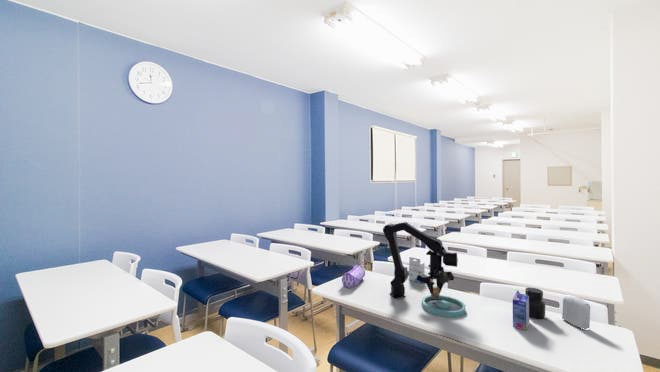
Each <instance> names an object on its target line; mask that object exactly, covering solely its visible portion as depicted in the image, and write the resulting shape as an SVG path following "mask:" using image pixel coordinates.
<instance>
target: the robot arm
mask: <svg viewBox="0 0 660 372" xmlns="http://www.w3.org/2000/svg"><path fill="white" fill-rule="evenodd" d="M401 231H404V232H405V233H408V234H409V235H410V236H412V237H414V238H416V239H417V240H419V241H420V242H422V243H423V244H424V245H425V247H427V248H428V249H429V250H428V251H427V252H426V253H425V254H426V256H429V264H428V265H427V266H428V268H429V271H428V275H426V274H425V273H424V274H421V275H418V276H417V280H418V281H420V282H422V283H421V284H426V286H427V289H428V291H429V293H430V295H431V294H433V286H434V285H435V282H434V280H436V287H439V288H440V290H439V295H441V292H442V290H443V289H442V288H443V286H444V285H445V284H446V283H449V281H455V276H454V274H453V272H452V271H445V270H444V269H445V268H444V266H446V267H447V266H448V267H457V268H458V261H459V259H458V253H457V252H450V251H447V250H446V249H445V247H444V245H443V241H442V240H441V239H439V238H437V237H434V236H431V235H428V234H427V233H424V232H423V231H421V230H420V229H418V228H416V227H414V226H412V225H411V224H410V223H408V222H407V221H403V222H399V223H395V224H393V223H388V224H385V225H384V226H383V228H382V232H383V235H384V236H385V239H386V240H387V241H388V245H389V250H390V253H391V258H392V261H393V266H394V271H393V272H394V274H393V275H394V277H393V278H392V280H391V281H390V292H389V295H390V296H391V297H393V298H395V299H402V298H406V297H407V296H406V295H405V294H406V293H405V292H406V290H405V289H406V287H405V284H404V283H405V282H406V281H407V280H408V279H409V270H408V267H407V266H406V267H405V266H404V265H403V262H402V256H401V253H400V252H401V251H400V250H399V249H400V248H399V245H398V244H399V243H398V241H397V236H398V233H397V232H401ZM443 264H444V266H443Z"/></svg>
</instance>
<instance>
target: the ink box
mask: <svg viewBox="0 0 660 372" xmlns="http://www.w3.org/2000/svg"><path fill="white" fill-rule="evenodd" d="M408 259H409V261H408V262H409V263H408V273H409V275H408V280H409V281H412V282H415V283H418V284H423V283H422V282H420V281H418V280H417V276H418V275H421V274H425V262H421V259H419V258H417V257H416V258H415V257H412V256H409V258H408Z"/></svg>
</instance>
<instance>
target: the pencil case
mask: <svg viewBox="0 0 660 372" xmlns="http://www.w3.org/2000/svg"><path fill="white" fill-rule="evenodd" d="M365 276H366V270H365V268H364V267H363V266H362V265H361V264H360V263H356V265H354V266H353V268H352V269H351V270H349V271H347V272H345V273H344V274H342V277H341V283H342V285H343V287H345V288H348V289H352V288H354V287H355V286H356V285H357V284H358V283H360V282H361V281H362V279H364V277H365Z"/></svg>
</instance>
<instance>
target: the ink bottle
mask: <svg viewBox="0 0 660 372" xmlns="http://www.w3.org/2000/svg"><path fill="white" fill-rule="evenodd" d="M524 295H528V296H529V318H531V317H532V318H531V319H537V320H543V318H544V319H545V318H546V303H545V302H544V300H543V299H544V291H543V290H542V289H539V288H536V287H526V288H525V294H524Z"/></svg>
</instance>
